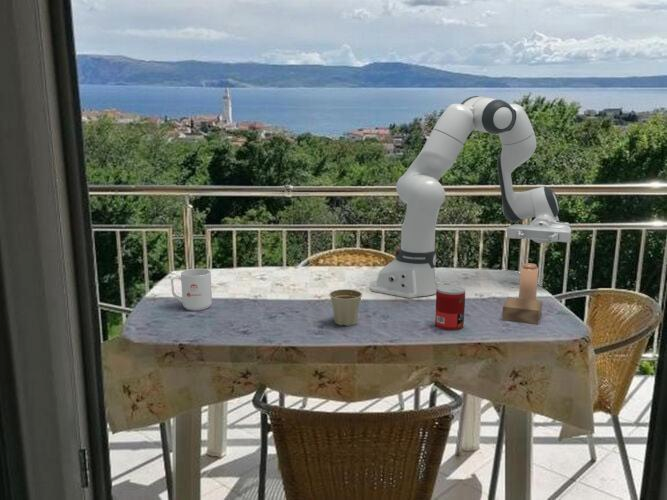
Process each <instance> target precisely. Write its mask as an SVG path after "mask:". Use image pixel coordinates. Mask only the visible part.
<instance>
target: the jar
mask: <svg viewBox="0 0 667 500" xmlns="http://www.w3.org/2000/svg"><path fill="white" fill-rule="evenodd" d="M537 265H538V264H536V263H533V262H531V263H530V262H529V263H528V262H526V263H525V262H524V263H522V265H521V267H520V272H519V288H518V298H520V299H529V300H537V292H538V291H537V290H538V278H539V277H538V276H539V267H538V266H537Z"/></svg>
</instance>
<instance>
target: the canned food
mask: <svg viewBox="0 0 667 500" xmlns="http://www.w3.org/2000/svg"><path fill="white" fill-rule="evenodd" d="M435 294H436V295H435V317H434V318H435V322H434V323H435V326H436V327H438V328H439V329H442V330H445V331H446V330H448V331H456V330H461V329H462V328H463V327H464V324H465V305H466V289H465V287H463V286H461V285H455V284H441V285H437V290H436V293H435Z"/></svg>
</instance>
